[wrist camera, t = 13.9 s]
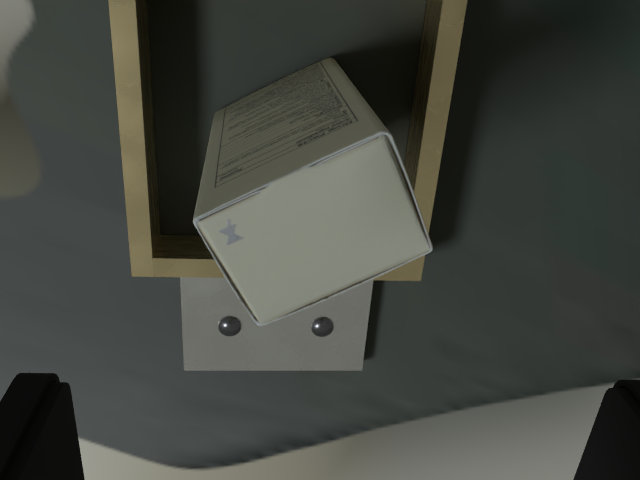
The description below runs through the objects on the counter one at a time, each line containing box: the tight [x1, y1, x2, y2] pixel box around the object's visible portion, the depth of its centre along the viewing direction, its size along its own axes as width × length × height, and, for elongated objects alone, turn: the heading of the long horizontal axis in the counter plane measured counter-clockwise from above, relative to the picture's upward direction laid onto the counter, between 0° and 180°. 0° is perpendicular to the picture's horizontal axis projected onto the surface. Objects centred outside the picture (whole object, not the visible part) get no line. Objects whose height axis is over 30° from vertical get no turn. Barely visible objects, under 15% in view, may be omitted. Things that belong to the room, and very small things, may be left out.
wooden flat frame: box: [109, 0, 467, 370], centre depth 27 cm, size 14×28×2 cm, turn 176°
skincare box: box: [193, 58, 433, 326], centre depth 23 cm, size 6×4×12 cm
